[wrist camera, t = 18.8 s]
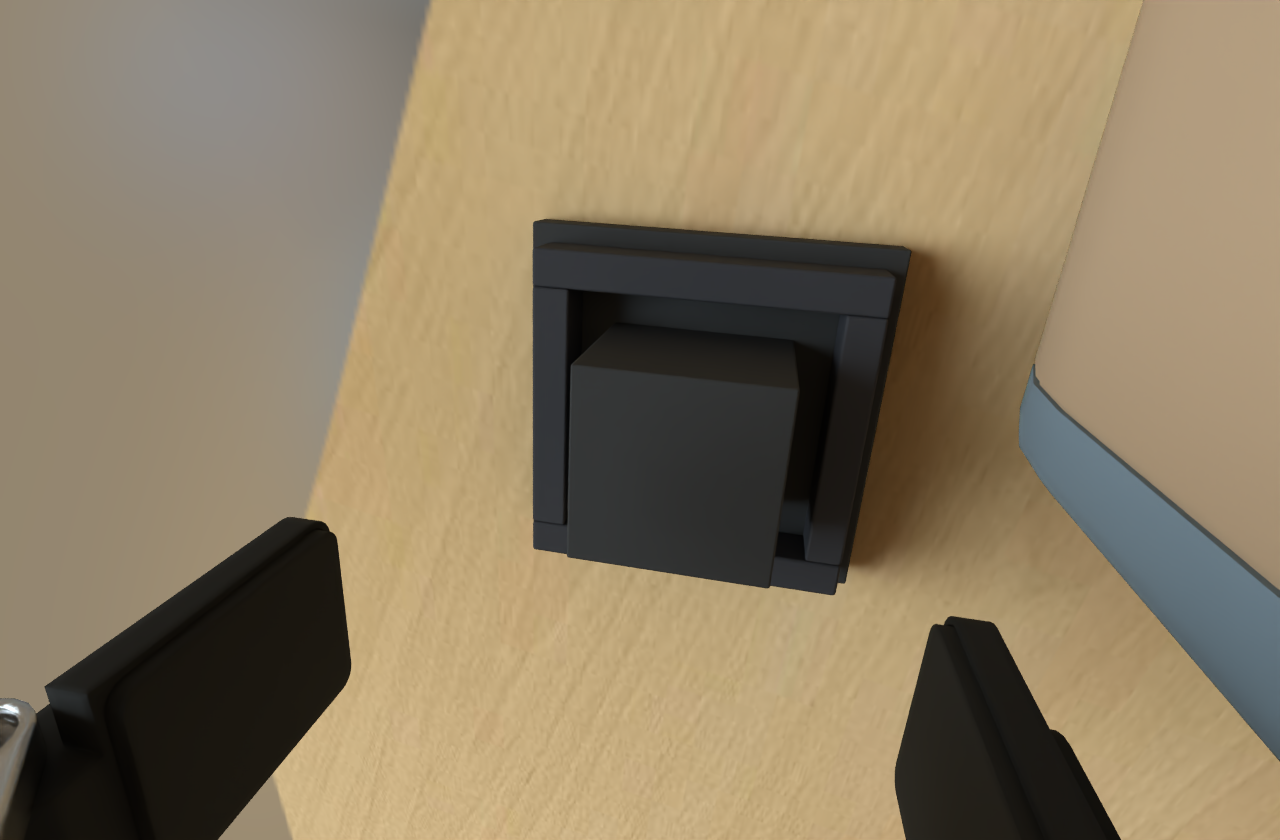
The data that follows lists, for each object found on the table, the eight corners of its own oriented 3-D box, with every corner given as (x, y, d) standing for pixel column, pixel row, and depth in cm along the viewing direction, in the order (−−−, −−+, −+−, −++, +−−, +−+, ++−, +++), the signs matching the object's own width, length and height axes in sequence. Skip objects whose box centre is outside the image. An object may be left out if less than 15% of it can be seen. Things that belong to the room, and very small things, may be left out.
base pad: (542, 521, 23) (516, 561, 20) (544, 218, 19) (512, 225, 17) (842, 566, 21) (850, 614, 19) (904, 246, 18) (924, 257, 15)
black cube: (607, 480, 21) (566, 557, 16) (614, 321, 19) (570, 364, 15) (770, 502, 20) (769, 589, 16) (794, 339, 18) (799, 389, 14)
